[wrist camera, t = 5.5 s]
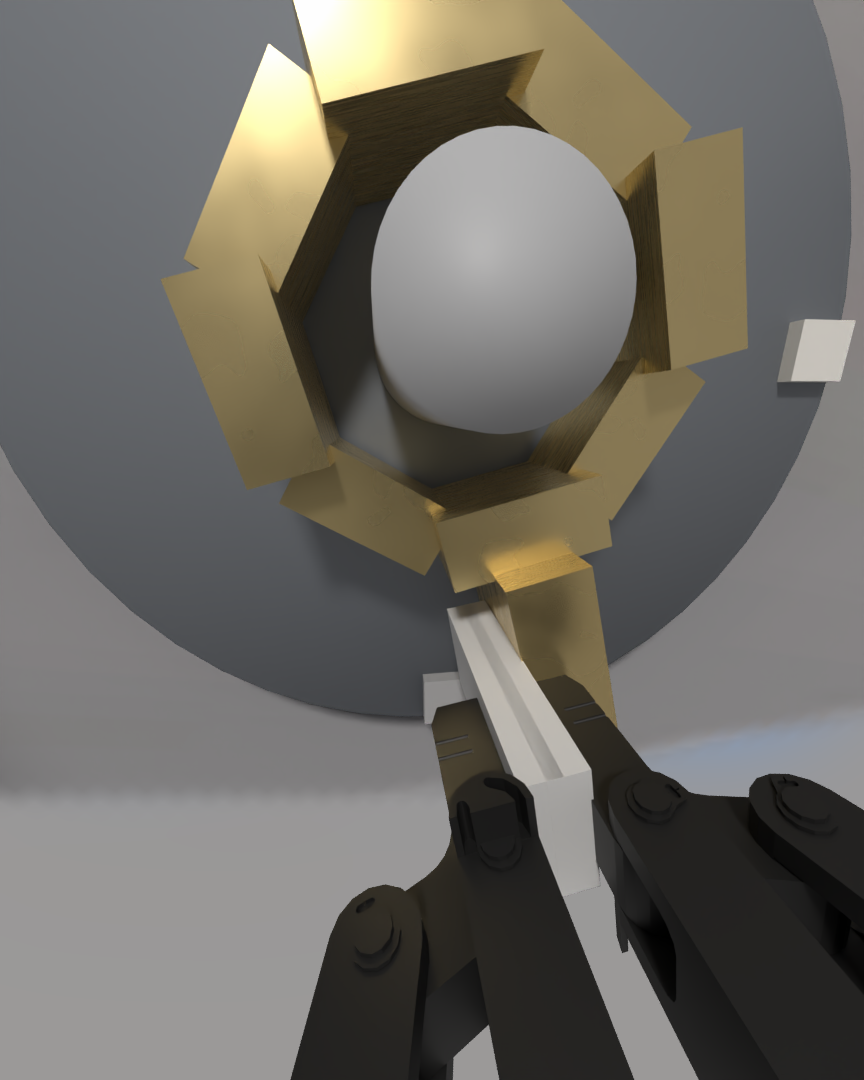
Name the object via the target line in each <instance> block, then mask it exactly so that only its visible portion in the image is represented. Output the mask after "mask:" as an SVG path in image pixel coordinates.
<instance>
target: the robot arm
mask: <svg viewBox="0 0 864 1080" xmlns="http://www.w3.org/2000/svg"><path fill="white" fill-rule="evenodd" d="M447 612H448V617H449V623H450V628H451V633H452V639H453V644H454V650H455V655H456V660H457V666H458V671H459V677H460V682H461V685H462V688H463V691H464V694H465V697H466V700H465V701H461V702H457V703H453V704H449V705H445V706H441V707H437V709H436V712H435V715H434V718H433V721H432V730H433V735H434V740H435V745H436V750H437V755H438V760H439V765H440V770H441V775H442V780H443V785H444V790H445V795H446V800H447V805H448V810H449V821H450V826H451V831H452V833H451V839H450V844H449V847H448V849H447V851H446V854H445V856H444V858H443V859H442V860H441V862H440V863H439V865H438V866H437V867H436V868H435V869H434V870H433V871H432V872H431V873H430V874H428V875H427V876H426V877H425V878H424V879H422V880H421V881H419V882H418V883H416V884H415V885H414V886H412V887H411V888H410V889H408V890H406V891H404V890H403V889H401V888H398V887H394V886H390V885H381V886H377V887H372V888H368V889H367V890H365V891H364V892H362V893H361V894H359V895H358V896H357V897H355V898H353V899H352V900H351V902H350V903H349V904H348V905H347V906H346V908H345V909H344V910H343V911H342V912H341V914H340V915H339V917H338V919H337V921H336V924H335V926H334V928H333V931H332V933H331V935H330V938H329V942H328V945H327V949H326V953H325V956H324V960H323V963H322V967H321V971H320V974H319V978H318V982H317V985H316V989H315V992H314V996H313V1000H312V1004H311V1007H310V1011H309V1014H308V1018H307V1022H306V1025H305V1029H304V1033H303V1036H302V1040H301V1044H300V1047H299V1051H298V1054H297V1058H296V1062H295V1065H294V1069H293V1072H292V1076H291V1080H453V1057H454V1056H455V1055H456V1054H457V1053H458V1052H459V1051H461V1049H463V1048H464V1047H465V1046H466V1045H467V1044H468V1043H469V1042H470V1041H471V1040H472V1039H473V1038H475V1037H476V1036H477V1035H478V1034H479V1033H480V1032H481V1031H482V1030H483V1029H484V1028H485V1027H486V1026H487V1025H489V1027H490V1032H491V1038H492V1043H493V1048H494V1054H495V1059H496V1064H497V1070H498V1075H499V1080H634V1078H633V1075H632V1073H631V1070H630V1068H629V1065H628V1063H627V1060H626V1057H625V1055H624V1052H623V1050H622V1047H621V1045H620V1042H619V1040H618V1037H617V1034H616V1032H615V1029H614V1027H613V1024H612V1022H611V1019H610V1017H609V1014H608V1011H607V1009H606V1006H605V1004H604V1001H603V999H602V996H601V994H600V991H599V989H598V986H597V983H596V981H595V978H594V976H593V973H592V971H591V968H590V965H589V963H588V961H587V958H586V955H585V953H584V950H583V948H582V945H581V943H580V940H579V938H578V935H577V932H576V930H575V927H574V925H573V922H572V919H571V917H570V914H569V912H568V909H567V907H566V904H565V902H564V899H563V897H565V896H568V895H572V894H575V893H578V892H582V891H585V890H588V889H592V888H595V887H599V886H600V874H599V867H600V869H601V871H602V873H603V875H604V876H605V879H606V880H607V882H608V884H609V886H610V888H611V890H612V892H613V894H614V898H615V914H616V928H617V938H618V941H619V944H620V948H621V951H622V953H623V952H627V951H628V940H629V941H630V944H631V945H632V948H633V949H634V951H635V954H636V955H637V958H638V960H639V961H640V963H641V965H642V968H643V969H644V971H645V973H646V975H647V977H648V979H649V981H650V983H651V985H652V987H653V989H654V991H655V993H656V995H657V997H658V999H659V1001H660V1003H661V1005H662V1007H663V1009H664V1011H665V1013H666V1015H667V1017H668V1019H669V1021H670V1023H671V1025H672V1027H673V1029H674V1031H675V1033H676V1035H677V1037H678V1039H679V1041H680V1043H681V1045H682V1047H683V1049H684V1051H685V1053H686V1055H687V1057H688V1059H689V1061H690V1063H691V1065H692V1067H693V1069H694V1071H695V1073H696V1075H697V1077H698V1079H699V1080H864V810H863V809H861V808H859V807H857V806H856V805H854V804H852V803H851V802H849V801H848V800H846V799H845V798H843V797H841V796H840V795H838V794H836V793H835V792H833V791H831V790H830V789H827V788H825V787H823V786H821V785H819V784H817V783H815V782H813V781H811V780H808V779H805V778H801V777H797V776H794V775H790V774H768V775H765V776H762V777H759V778H757V779H756V780H755V781H754V783H753V784H752V785H751V787H750V789H749V797H728V796H707V795H700V794H694V793H690V792H688V791H687V790H686V789H685V788H684V787H682V786H681V785H680V784H679V783H678V782H677V781H675V780H674V779H671V778H669V777H667V776H665V775H663V774H661V773H658V772H654V771H651V770H650V768H649V767H648V766H647V765H646V764H645V763H644V761H643V760H642V759H641V758H640V756H639V755H638V754H637V753H636V751H635V750H634V749H633V748H632V746H631V745H630V744H629V743H628V741H627V740H626V739H625V738H624V736H623V735H622V734H621V732H620V731H619V730H618V729H617V727H616V726H615V725H614V724H613V722H612V721H611V720H610V719H609V717H606V715H605V712H604V711H603V710H602V709H601V707H600V706H599V705H598V704H596V702H595V700H594V699H593V697H592V696H591V695H590V694H589V692H588V691H587V690H586V688H585V687H584V686H583V685H582V684H580V683H578V682H577V681H575V680H573V679H572V678H570V677H568V676H567V675H562V676H557V677H553V678H549V679H545V680H540V681H535V679H534V678H533V676H532V674H531V673H530V671H529V670H528V668H527V667H526V665H525V663H524V662H523V661H521V660H520V658H519V656H518V655H517V653H516V651H515V650H514V648H513V646H512V644H511V643H510V641H509V639H508V637H507V636H506V634H505V632H504V631H503V629H502V627H501V625H500V624H499V622H498V621H497V619H496V617H495V616H494V614H493V613H492V611H491V609H490V608H489V606H488V605H487V603H486V601H485V600H484V601H479V602H475V603H470V604H466V605H461V606H457V607H453V608H448V609H447Z"/></svg>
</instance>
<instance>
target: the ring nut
mask: <svg viewBox="0 0 864 1080" xmlns="http://www.w3.org/2000/svg"><path fill="white" fill-rule="evenodd" d="M291 1H292V6H293V11H294V16H295V20H296V25H297V30H298V35H299V40H300V44H301V49H302V54H303V59H304V63H305V68H306V72H305V71H303V70H302V69H301V68H300V67H298V66H297V65H296V64H294V63H293V62H292V61H291V60H289V59H288V58H287V57H285V56H284V55H283V54H281V53H280V52H279V51H278V50H276V49H275V48H274V47H272V46H271V45H270V44H268V46H267V49H266V52H265V54H264V57H263V59H262V62H261V64H260V67H259V69H258V72H257V74H256V77H255V79H254V82H253V84H252V87H251V89H250V92H249V94H248V97H247V99H246V102H245V105H244V107H243V110H242V112H241V115H240V117H239V120H238V122H237V125H236V127H235V130H234V132H233V135H232V137H231V140H230V142H229V145H228V147H227V150H226V153H225V155H224V158H223V160H222V163H221V165H220V168H219V170H218V173H217V175H216V178H215V180H214V183H213V185H212V188H211V190H210V193H209V195H208V198H207V201H206V203H205V206H204V208H203V211H202V213H201V216H200V218H199V221H198V223H197V226H196V228H195V231H194V233H193V236H192V238H191V241H190V243H189V246H188V249H187V251H186V254H185V256H184V260H186V261H187V262H188V263H189V264H191V265H192V266H193V267H195V268H196V269H197V270H193V271H189V272H185V273H181V274H177V275H174V276H170V277H166V278H162V279H161V282H162V284H163V287H164V289H165V292H166V294H167V297H168V299H169V301H170V304H171V306H172V309H173V311H174V314H175V316H176V318H177V321H178V323H179V326H180V328H181V331H182V333H183V336H184V338H185V340H186V343H187V345H188V348H189V350H190V353H191V355H192V357H193V360H194V362H195V365H196V367H197V370H198V372H199V375H200V377H201V379H202V382H203V384H204V387H205V389H206V392H207V394H208V396H209V399H210V401H211V404H212V406H213V409H214V411H215V414H216V416H217V418H218V421H219V423H220V426H221V428H222V431H223V433H224V435H225V438H226V440H227V443H228V445H229V448H230V450H231V453H232V455H233V457H234V460H235V462H236V465H237V467H238V470H239V472H240V474H241V477H242V479H243V482H244V484H245V487H246V489H247V490H249V489H253V488H256V487H260V486H263V485H267V484H270V483H274V482H277V481H281V480H285V479H288V478H291V480H290V482H289V484H288V486H287V488H286V490H285V492H284V494H283V496H282V498H281V500H280V502H279V504H281V505H283V506H285V507H287V508H289V509H291V510H293V511H295V512H297V513H299V514H301V515H303V516H305V517H307V518H309V519H311V520H313V521H315V522H317V523H319V524H321V525H323V526H325V527H327V528H329V529H331V530H333V531H335V532H337V533H339V534H341V535H343V536H345V537H347V538H349V539H351V540H353V541H355V542H357V543H359V544H362V545H364V546H366V547H368V548H370V549H372V550H374V551H376V552H378V553H380V554H382V555H384V556H386V557H388V558H390V559H392V560H394V561H396V562H398V563H400V564H402V565H404V566H406V567H408V568H410V569H412V570H414V571H416V572H418V573H420V574H422V575H424V576H425V575H426V573H427V571H428V570H429V568H430V566H431V565H432V563H433V561H434V559H435V558H436V556H437V554H438V555H439V557H440V559H441V562H442V564H443V566H444V569H445V571H446V573H447V576H448V578H449V580H450V583H451V585H452V587H453V589H454V592H455V593H457V592H461V591H464V590H467V589H471V588H474V587H476V589H477V593H478V597H479V601H484V600H485V601H486V603H487V605H488V606H489V608H490V609H491V611H492V613H493V614H494V616H495V617H496V619H497V621H498V622H499V624H500V625H501V627H502V629H503V631H504V632H505V634H506V636H507V637H508V639H509V641H510V643H511V644H512V646H513V648H514V650H515V651H516V653H517V655H518V656H519V658H520V660H521V661H523V662H524V663H525V665H526V667H527V668H528V670H529V671H530V673H531V674H532V676H533V678H534V679H535V681H540V680H545V679H549V678H553V677H557V676H562V675H567V676H568V677H570V678H572V679H573V680H575V681H577V682H578V683H580V684H582V685H583V686H584V687H585V688H586V690H587V691H588V692H589V694H590V695H591V696H592V697H593V699H594V700H595V702H596V704H598V705H599V706H600V707H601V709H602V710H603V711H604V712H605V715H606V717H609V719H610V720H611V721H612V722H613V724H614V725H615V726H616V727H617V721H616V715H615V708H614V702H613V696H612V689H611V683H610V676H609V670H608V663H607V657H606V650H605V644H604V637H603V631H602V624H601V618H600V611H599V605H598V598H597V592H596V585H595V579H594V573H593V566H591V565H590V564H588V563H587V562H586V561H584V560H583V559H581V558H580V557H579V556H581V555H585V554H588V553H591V552H595V551H598V550H601V549H605V548H608V547H611V546H612V540H611V533H610V526H609V519H610V520H613V518H614V517H615V515H616V514H617V512H618V511H619V509H620V508H621V506H622V505H623V503H624V502H625V500H626V499H627V497H628V496H629V494H630V493H631V492H632V490H633V489H634V487H635V486H636V484H637V483H638V481H639V480H640V478H641V477H642V475H643V474H644V472H645V471H646V469H647V468H648V466H649V465H650V463H651V462H652V460H653V459H654V457H655V456H656V455H657V453H658V452H659V450H660V449H661V447H662V446H663V444H664V443H665V441H666V440H667V438H668V437H669V435H670V434H671V432H672V431H673V429H674V428H675V426H676V425H677V423H678V422H679V421H680V419H681V418H682V416H683V415H684V413H685V412H686V410H687V409H688V407H689V406H690V404H691V403H692V401H693V400H694V398H695V397H696V395H697V394H698V392H699V391H700V389H701V388H702V386H703V385H704V384H705V381H704V380H703V379H701V378H700V377H699V376H698V375H696V374H695V373H694V372H692V371H691V370H690V369H688V368H687V367H686V366H687V365H691V364H694V363H698V362H702V361H705V360H709V359H712V358H716V357H719V356H723V355H726V354H730V353H733V352H737V351H740V350H744V349H748V332H747V290H746V248H745V206H744V164H743V127H741V128H738V129H734V130H730V131H726V132H722V133H718V134H715V135H711V136H707V137H703V138H699V139H695V140H692V141H688V142H684V143H683V141H684V139H685V138H686V136H687V134H688V132H689V131H690V129H691V126H690V125H689V124H688V123H687V122H686V121H685V120H684V119H683V118H682V117H681V116H680V115H679V114H678V113H677V112H676V111H675V110H674V109H673V108H672V107H671V106H670V105H669V104H668V103H667V102H666V101H665V100H664V99H663V98H662V97H661V96H660V95H659V94H658V93H657V92H656V91H654V90H653V89H652V88H651V87H650V86H649V85H648V84H647V83H646V82H645V81H644V80H643V79H642V78H641V77H640V76H639V75H638V74H637V73H636V72H635V71H634V70H633V69H632V68H631V67H630V66H629V65H628V64H627V63H626V62H625V61H624V60H623V59H622V58H621V57H620V56H619V55H618V54H617V53H616V52H614V51H613V50H612V49H611V48H610V47H609V46H608V45H607V44H606V43H605V42H604V41H603V40H602V39H601V38H600V37H599V36H598V35H597V34H596V33H595V32H594V31H593V30H592V29H591V28H590V27H589V26H588V25H587V24H586V23H585V22H584V21H583V20H582V19H581V18H580V17H579V16H578V15H577V14H575V13H574V12H573V11H572V10H571V9H570V8H569V7H568V6H567V5H566V4H565V3H564V2H563V1H562V0H291ZM494 126H519V127H525V128H531V129H536V130H539V131H542V132H545V133H548V134H551V135H553V136H555V137H557V138H559V139H561V140H563V141H564V142H566V143H568V144H570V145H571V146H572V147H574V148H575V149H577V150H578V151H579V152H581V153H582V154H583V155H585V156H586V157H587V158H588V159H589V160H590V161H591V162H592V163H593V164H594V165H595V166H596V167H597V168H598V169H599V171H600V172H601V173H602V175H603V176H604V177H605V179H606V180H607V181H608V183H609V184H610V186H611V187H612V189H613V191H614V193H615V194H616V196H617V198H618V200H619V201H620V204H621V206H622V208H623V211H624V213H625V216H626V218H627V221H628V224H629V228H630V232H631V235H632V239H633V245H634V251H635V257H636V276H637V280H636V296H635V303H634V309H633V314H632V319H631V322H630V326H629V329H628V333H627V336H626V338H625V341H624V343H623V346H622V348H621V351H620V353H619V355H618V356H617V358H616V360H615V362H614V364H613V366H612V368H611V369H610V371H609V372H608V373H607V375H606V376H605V378H604V379H603V381H602V382H601V383H600V384H599V386H598V387H597V388H596V389H595V390H594V391H593V392H592V393H591V395H590V396H589V397H587V398H586V399H585V400H584V401H583V402H582V403H581V404H580V405H579V406H577V407H576V408H575V409H573V410H572V411H570V412H569V413H567V414H566V415H565V416H563V417H561V418H559V419H557V420H555V421H553V422H552V423H550V425H549V427H548V428H547V430H546V431H545V433H544V435H543V436H542V438H541V440H540V441H539V443H538V445H537V446H536V448H535V449H534V451H533V453H532V454H531V456H530V458H529V459H528V461H526V462H522V463H519V464H515V465H512V466H508V467H505V468H502V469H498V470H495V471H491V472H488V473H484V474H481V475H477V476H474V477H470V478H467V479H463V480H460V481H456V482H453V483H449V484H446V485H442V486H439V487H436V488H432V489H431V488H430V487H428V486H426V485H424V484H422V483H421V482H419V481H417V480H415V479H414V478H412V477H410V476H408V475H406V474H405V473H403V472H401V471H399V470H397V469H396V468H394V467H392V466H390V465H388V464H387V463H385V462H383V461H381V460H379V459H378V458H376V457H374V456H372V455H371V454H369V453H367V452H365V451H363V450H362V449H360V448H358V447H356V446H354V445H353V444H351V443H349V442H347V441H345V440H344V439H342V438H340V436H339V433H338V430H337V427H336V424H335V421H334V418H333V415H332V411H331V408H330V405H329V402H328V399H327V396H326V393H325V390H324V387H323V384H322V381H321V378H320V375H319V372H318V368H317V365H316V362H315V359H314V356H313V353H312V350H311V347H310V344H309V341H308V338H307V335H306V332H305V329H304V325H303V320H304V318H305V316H306V314H307V312H308V309H309V307H310V305H311V303H312V301H313V299H314V297H315V294H316V292H317V290H318V288H319V286H320V284H321V282H322V279H323V277H324V275H325V273H326V271H327V269H328V266H329V264H330V262H331V260H332V258H333V256H334V254H335V251H336V249H337V247H338V245H339V243H340V241H341V238H342V236H343V234H344V232H345V230H346V228H347V226H348V223H349V221H350V219H351V217H352V215H353V213H354V210H355V208H356V207H358V206H362V205H366V204H370V203H374V202H378V201H381V200H385V199H389V198H393V197H394V196H395V194H396V192H397V190H398V189H399V187H400V186H401V185H402V183H403V182H404V180H405V179H406V178H407V176H408V175H409V174H410V172H411V171H412V170H413V169H414V168H415V167H416V166H417V165H418V164H419V163H420V162H421V161H422V160H423V159H424V158H425V157H427V156H428V155H429V154H430V153H432V152H433V151H434V150H436V149H437V148H438V147H440V146H441V145H443V144H445V143H447V142H448V141H450V140H452V139H454V138H456V137H458V136H460V135H463V134H466V133H468V132H471V131H474V130H477V129H482V128H488V127H494ZM617 729H618V728H617Z"/></svg>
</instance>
